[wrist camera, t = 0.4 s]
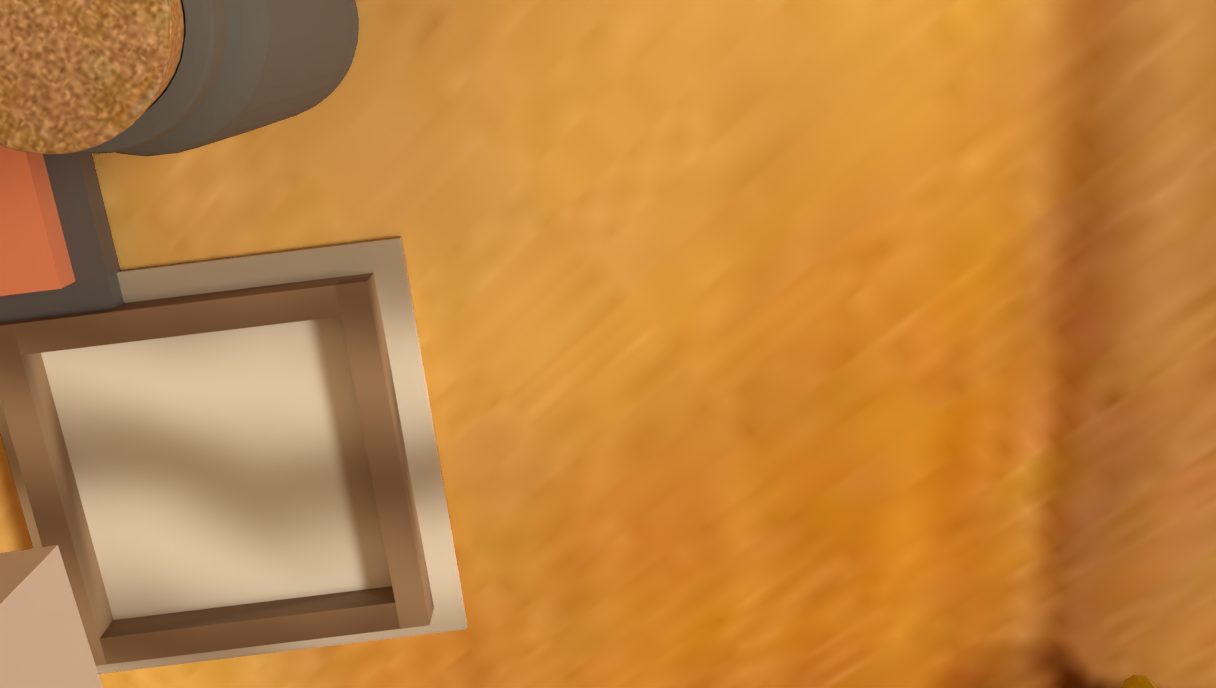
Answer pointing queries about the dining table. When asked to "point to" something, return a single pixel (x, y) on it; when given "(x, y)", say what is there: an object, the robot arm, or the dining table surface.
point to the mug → (1138, 682)
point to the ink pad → (54, 237)
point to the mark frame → (236, 458)
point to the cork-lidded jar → (163, 70)
